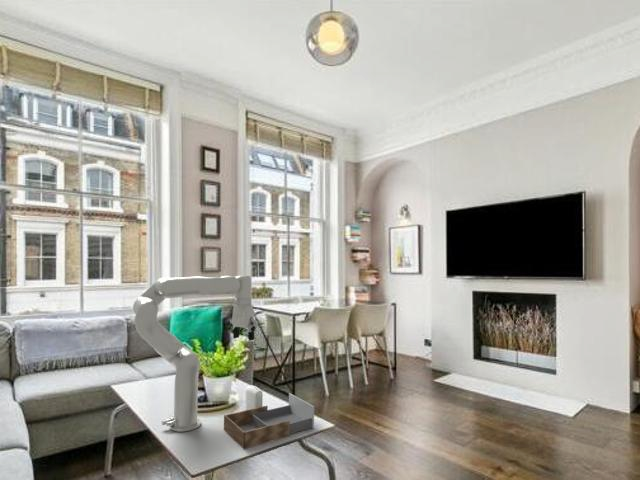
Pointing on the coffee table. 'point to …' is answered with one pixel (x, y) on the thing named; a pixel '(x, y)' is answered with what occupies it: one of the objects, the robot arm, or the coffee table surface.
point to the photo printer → (253, 397)
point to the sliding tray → (287, 415)
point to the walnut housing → (256, 435)
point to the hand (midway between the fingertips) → (243, 338)
